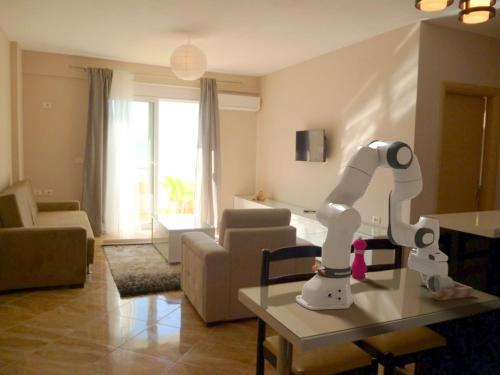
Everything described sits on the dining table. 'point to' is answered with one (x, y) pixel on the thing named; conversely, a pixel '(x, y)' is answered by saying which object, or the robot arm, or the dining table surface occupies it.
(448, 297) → the walnut stop
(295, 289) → the dining table surface
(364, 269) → the pepper mill
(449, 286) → the ceramic mug
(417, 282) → the dining table surface
